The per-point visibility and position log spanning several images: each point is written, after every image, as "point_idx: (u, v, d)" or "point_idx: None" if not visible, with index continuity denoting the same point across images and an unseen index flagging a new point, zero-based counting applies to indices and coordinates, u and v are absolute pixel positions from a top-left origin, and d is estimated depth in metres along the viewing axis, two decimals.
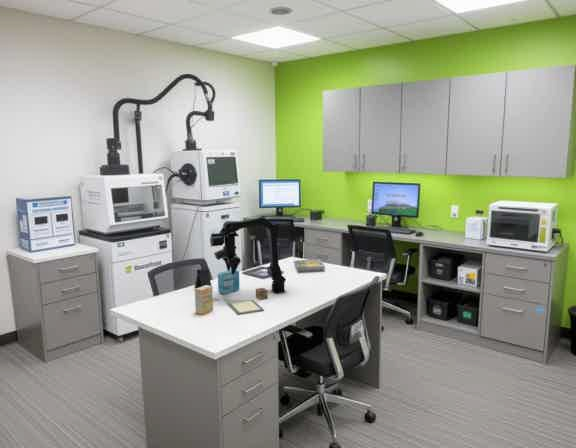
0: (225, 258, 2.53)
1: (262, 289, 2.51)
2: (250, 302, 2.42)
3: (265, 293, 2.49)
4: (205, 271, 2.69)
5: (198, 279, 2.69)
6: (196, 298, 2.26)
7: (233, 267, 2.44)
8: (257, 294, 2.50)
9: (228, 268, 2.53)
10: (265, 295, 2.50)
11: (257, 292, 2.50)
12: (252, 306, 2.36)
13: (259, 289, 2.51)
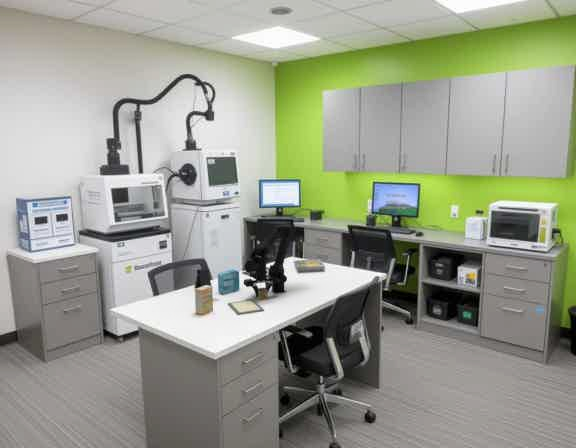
0: (266, 282, 2.53)
1: (262, 289, 2.51)
2: (250, 302, 2.42)
3: (265, 293, 2.49)
4: (205, 271, 2.69)
5: (198, 279, 2.69)
6: (196, 298, 2.26)
7: (254, 289, 2.49)
8: None
9: None
10: (265, 295, 2.50)
11: None
12: (252, 306, 2.36)
13: (259, 289, 2.51)
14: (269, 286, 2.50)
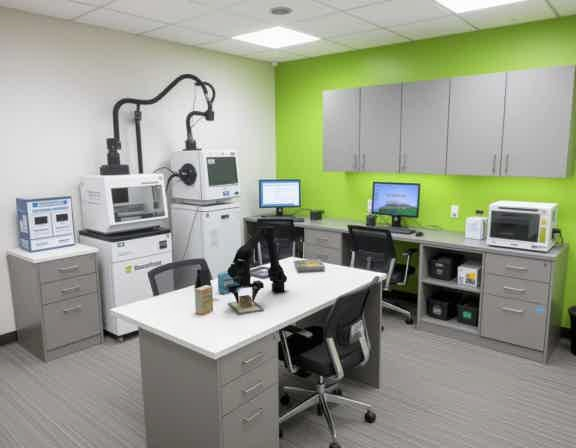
0: (252, 287, 2.38)
1: (246, 296, 2.36)
2: None
3: (249, 301, 2.34)
4: (205, 271, 2.69)
5: (198, 279, 2.69)
6: (196, 298, 2.26)
7: (235, 295, 2.33)
8: (241, 302, 2.35)
9: (252, 298, 2.37)
10: (249, 303, 2.34)
11: (241, 300, 2.34)
12: (252, 306, 2.36)
13: (243, 296, 2.36)
14: (256, 291, 2.35)
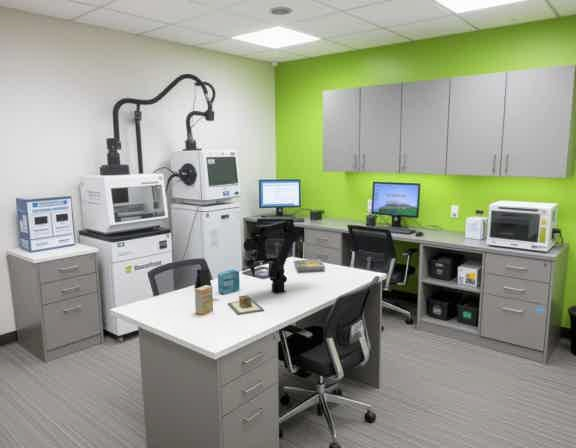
0: (269, 262, 2.54)
1: (246, 296, 2.36)
2: None
3: (249, 301, 2.34)
4: (205, 271, 2.69)
5: (198, 279, 2.69)
6: (196, 298, 2.26)
7: (251, 269, 2.49)
8: (241, 302, 2.35)
9: (269, 272, 2.53)
10: (249, 303, 2.34)
11: (241, 300, 2.34)
12: (252, 306, 2.36)
13: (243, 296, 2.36)
14: (272, 265, 2.51)
